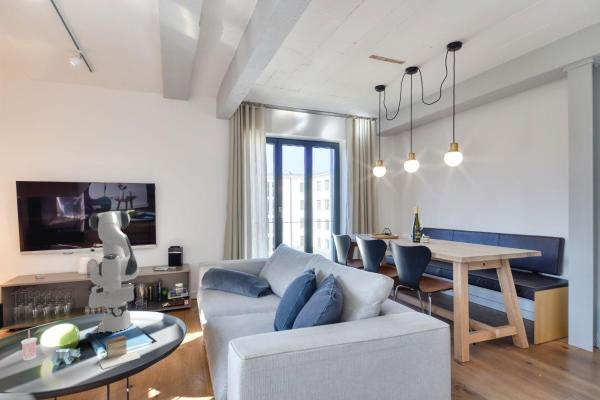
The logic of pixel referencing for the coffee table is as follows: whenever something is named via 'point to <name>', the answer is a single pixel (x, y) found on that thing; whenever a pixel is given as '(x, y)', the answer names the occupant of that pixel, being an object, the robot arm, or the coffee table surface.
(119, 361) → the pad
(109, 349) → the block
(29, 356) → the beverage cup
